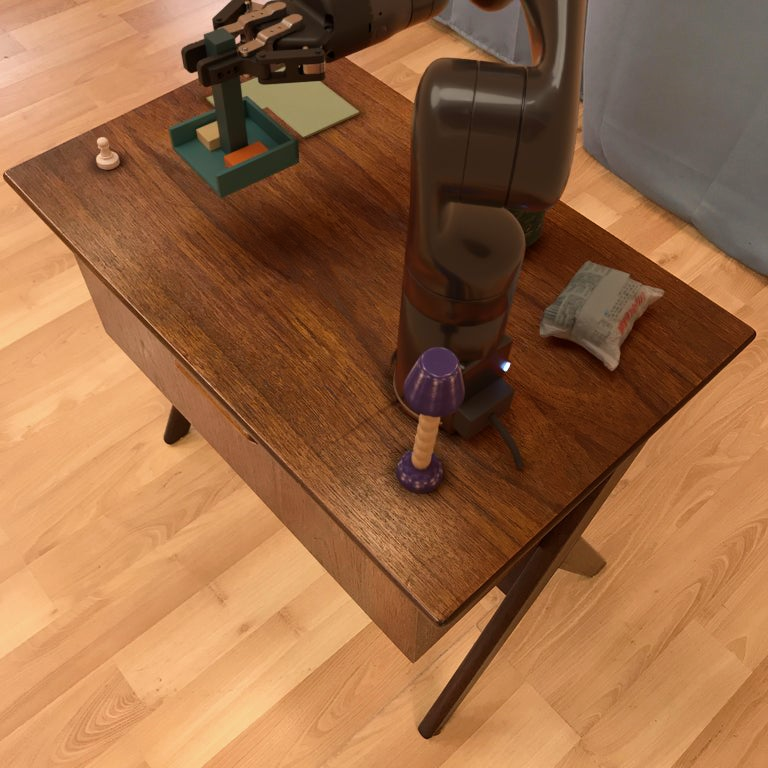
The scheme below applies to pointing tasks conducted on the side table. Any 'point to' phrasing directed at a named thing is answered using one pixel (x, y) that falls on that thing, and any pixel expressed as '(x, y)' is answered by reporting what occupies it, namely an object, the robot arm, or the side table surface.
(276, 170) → the tray with upright handle
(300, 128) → the mat
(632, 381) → the side table surface
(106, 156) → the chess pawn
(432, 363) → the toy lamp
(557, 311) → the packaged food
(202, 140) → the block
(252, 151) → the block
